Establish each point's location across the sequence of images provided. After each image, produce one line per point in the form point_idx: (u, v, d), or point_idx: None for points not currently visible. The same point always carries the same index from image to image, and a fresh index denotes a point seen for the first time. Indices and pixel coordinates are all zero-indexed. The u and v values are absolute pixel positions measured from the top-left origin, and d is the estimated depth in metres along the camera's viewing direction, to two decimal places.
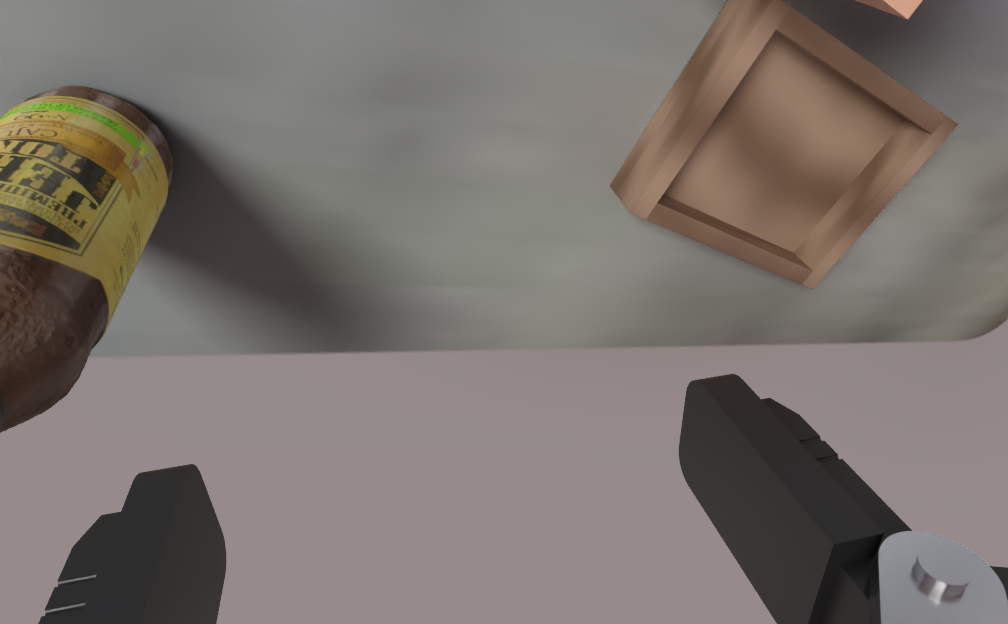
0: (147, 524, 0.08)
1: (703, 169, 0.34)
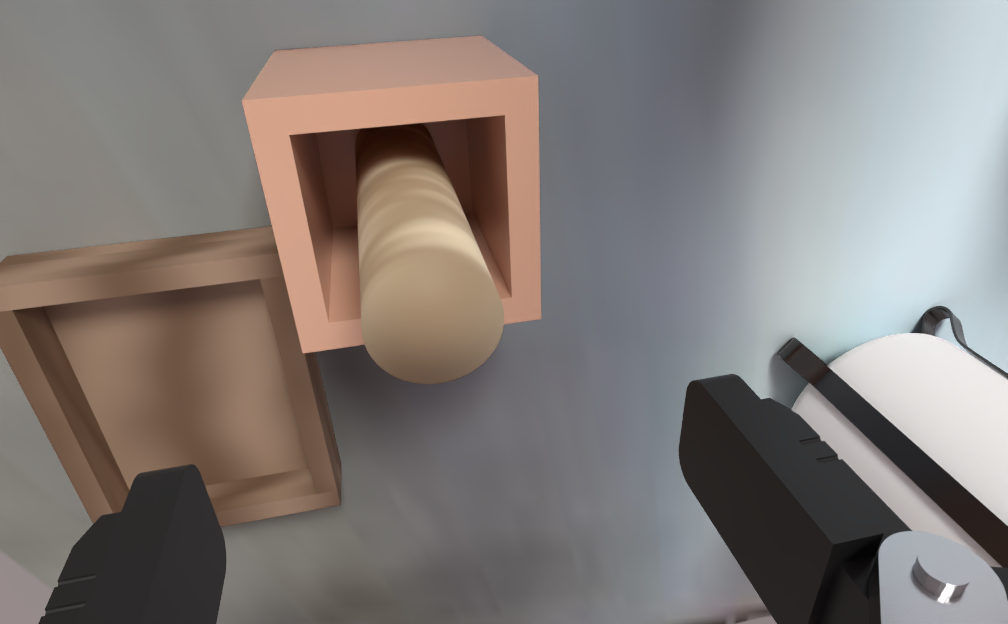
0: (147, 524, 0.08)
1: (112, 335, 0.28)
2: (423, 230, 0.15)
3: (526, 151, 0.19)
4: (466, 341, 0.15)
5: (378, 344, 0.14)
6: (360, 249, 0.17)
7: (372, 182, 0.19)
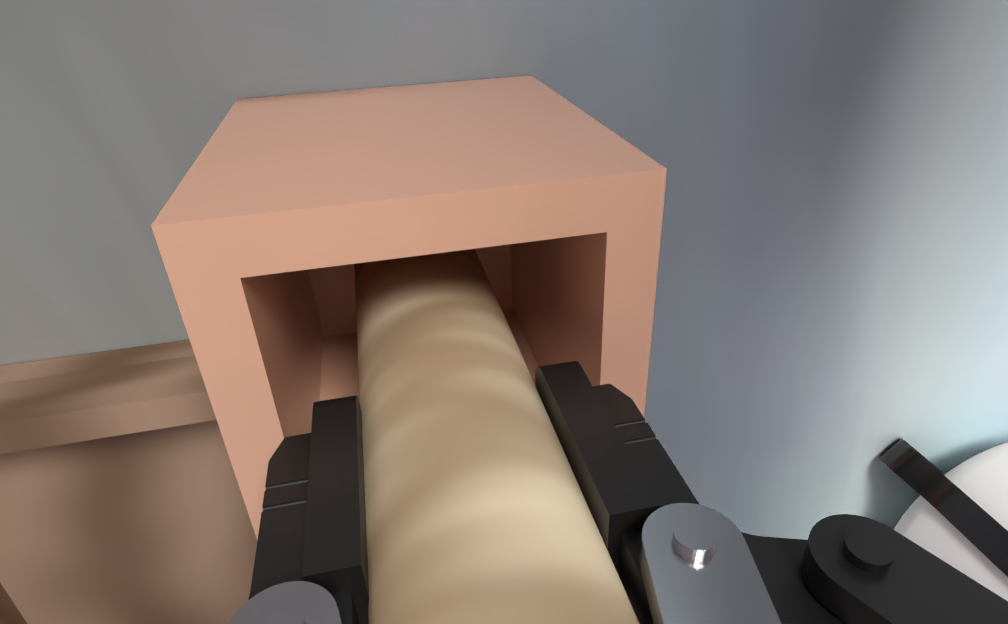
0: (338, 439, 0.10)
1: (17, 484, 0.20)
2: (494, 508, 0.08)
3: (636, 285, 0.12)
4: None
5: None
6: (366, 495, 0.09)
7: (383, 335, 0.12)
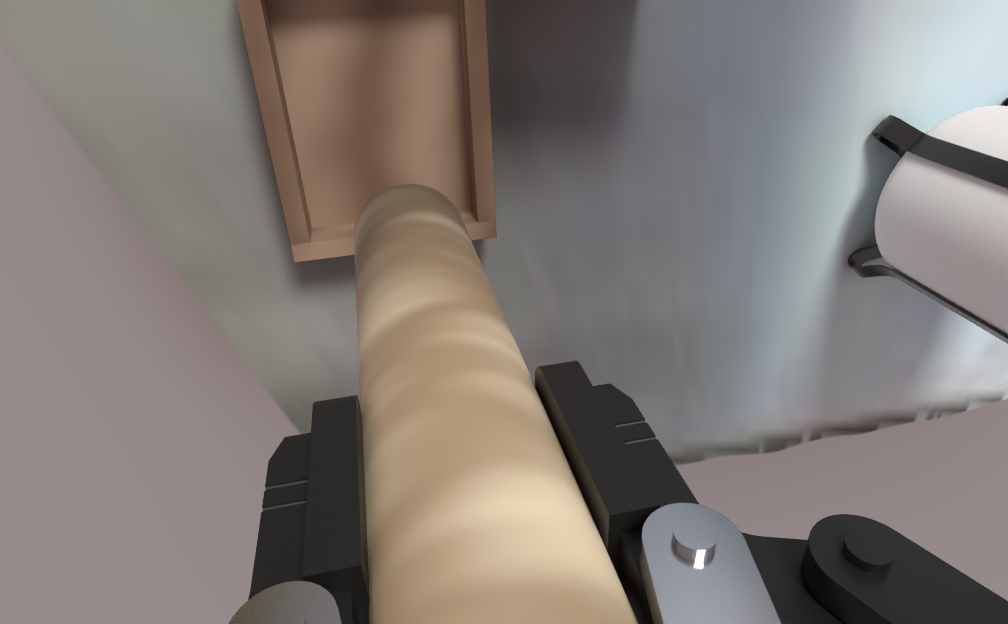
0: (338, 439, 0.10)
1: (319, 46, 0.31)
2: (495, 511, 0.08)
3: None
4: None
5: None
6: (367, 498, 0.09)
7: (384, 337, 0.12)
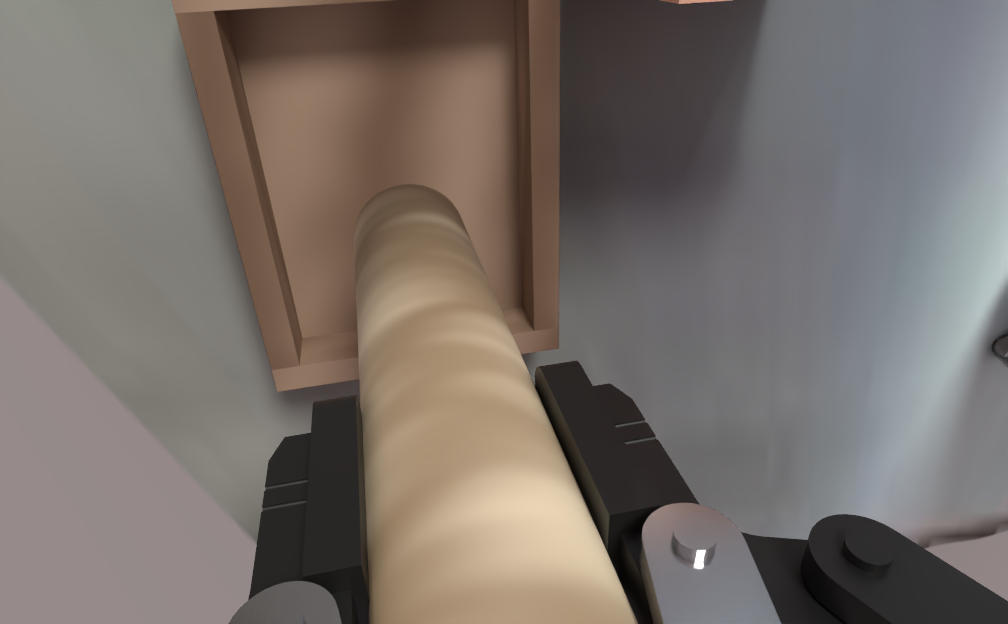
0: (338, 439, 0.10)
1: (311, 92, 0.21)
2: (495, 513, 0.08)
3: None
4: None
5: None
6: (367, 499, 0.09)
7: (384, 337, 0.12)
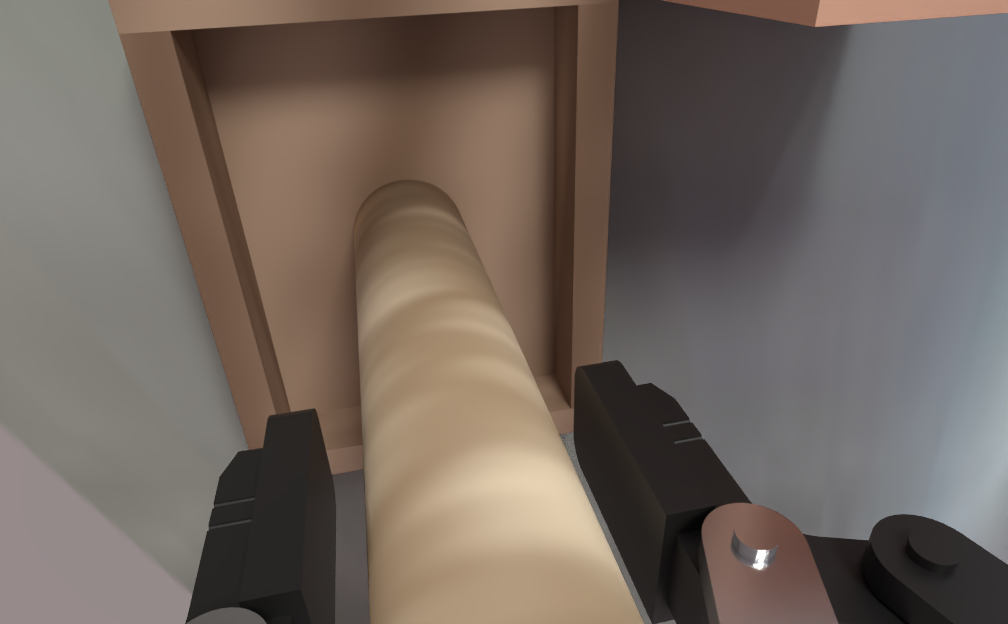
0: (290, 455, 0.09)
1: (301, 129, 0.17)
2: (492, 487, 0.08)
3: None
4: None
5: None
6: (367, 479, 0.09)
7: (384, 325, 0.12)
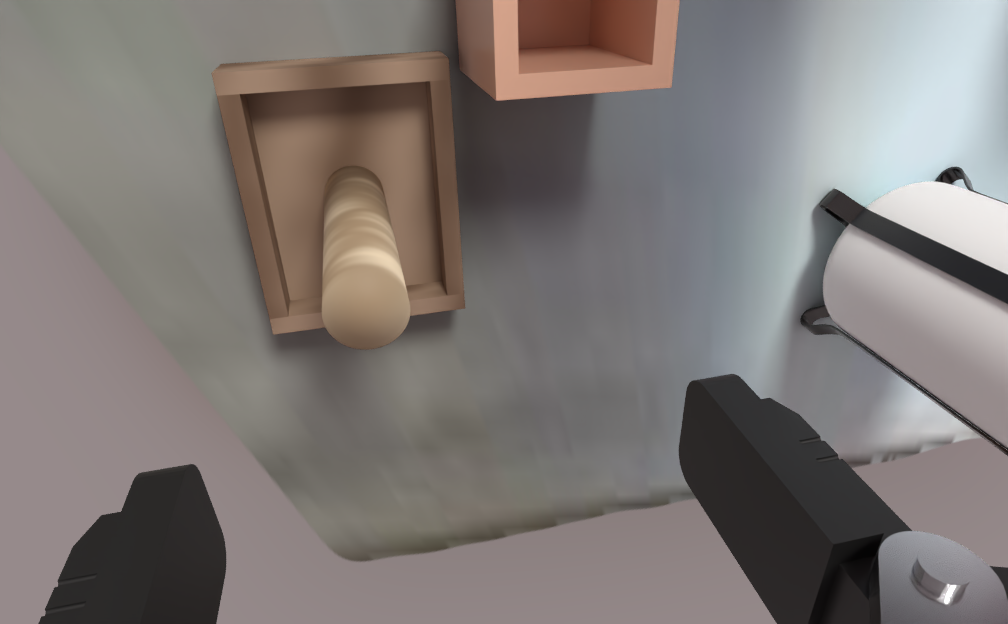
0: (147, 524, 0.08)
1: (297, 138, 0.34)
2: (361, 253, 0.24)
3: None
4: (387, 322, 0.24)
5: (332, 323, 0.24)
6: (323, 266, 0.26)
7: (333, 221, 0.28)
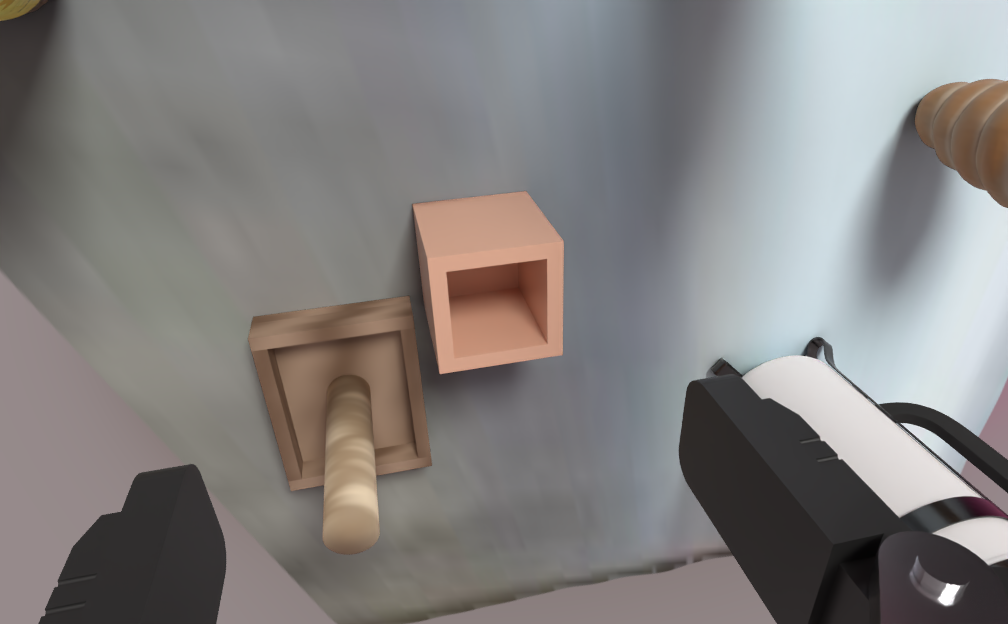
0: (147, 524, 0.08)
1: (307, 361, 0.47)
2: (348, 493, 0.38)
3: (557, 274, 0.39)
4: (365, 539, 0.37)
5: (329, 542, 0.37)
6: (324, 490, 0.39)
7: (331, 446, 0.42)
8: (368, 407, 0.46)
